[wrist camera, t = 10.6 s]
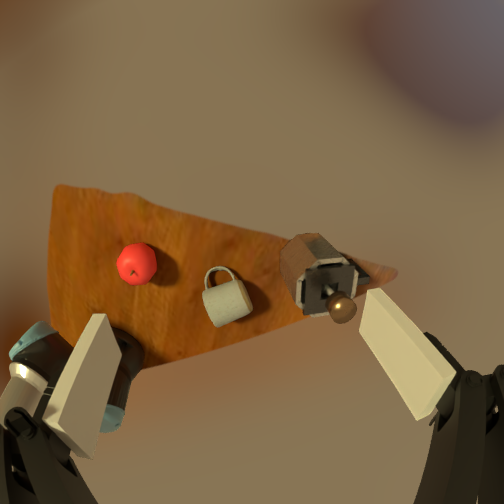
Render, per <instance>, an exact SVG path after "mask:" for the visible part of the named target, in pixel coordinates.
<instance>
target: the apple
mask: <svg viewBox="0 0 504 504" xmlns="http://www.w3.org/2000/svg"><path fill="white" fill-rule="evenodd" d="M116 264H117V268H118V271H119V275H120V277H121V278H122V279H123V280H125V281H126V282H127V283H129V284H130V285H132V286H133V285H143V284H147V283H148V282H149V280H150V279H151V278H152V276H153V275H154V274H155V272H156V271H157V261H156V257H155V252H154V250H153V249H151V248H150V247H149V246H147V245H146V244H145V243H136V244H130V245H128V246H126V247H125V248H124V249H123V251H122V253H121V254H120V256H119V257H118V259H117V262H116Z"/></svg>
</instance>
